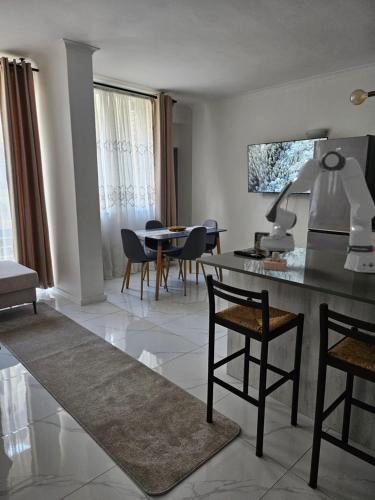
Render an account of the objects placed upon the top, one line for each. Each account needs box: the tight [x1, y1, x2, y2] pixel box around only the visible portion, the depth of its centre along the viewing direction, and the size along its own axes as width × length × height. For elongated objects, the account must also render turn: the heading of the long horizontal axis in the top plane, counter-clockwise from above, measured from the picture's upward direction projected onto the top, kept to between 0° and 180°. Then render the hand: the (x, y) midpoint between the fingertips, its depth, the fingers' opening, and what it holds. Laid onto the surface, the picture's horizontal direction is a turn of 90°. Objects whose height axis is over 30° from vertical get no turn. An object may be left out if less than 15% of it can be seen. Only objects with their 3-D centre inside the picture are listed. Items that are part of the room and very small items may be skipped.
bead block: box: [262, 257, 288, 272], centre depth 202 cm, size 12×12×4 cm
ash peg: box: [271, 251, 281, 262], centre depth 202 cm, size 4×4×9 cm
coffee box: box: [253, 231, 271, 258], centre depth 234 cm, size 9×6×16 cm
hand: (275, 255), depth 202 cm, fingers open, 8 cm apart
